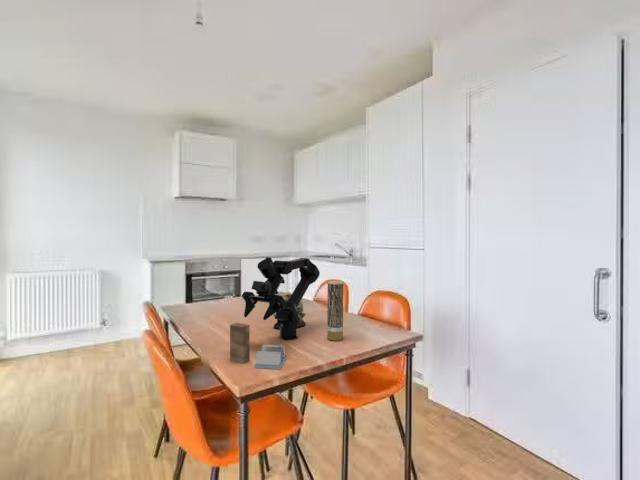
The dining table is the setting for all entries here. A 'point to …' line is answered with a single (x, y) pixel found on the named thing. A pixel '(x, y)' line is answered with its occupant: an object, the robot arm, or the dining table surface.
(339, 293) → the paper tube
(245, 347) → the walnut slab
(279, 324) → the owl figurine
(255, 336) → the dining table surface
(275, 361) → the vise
